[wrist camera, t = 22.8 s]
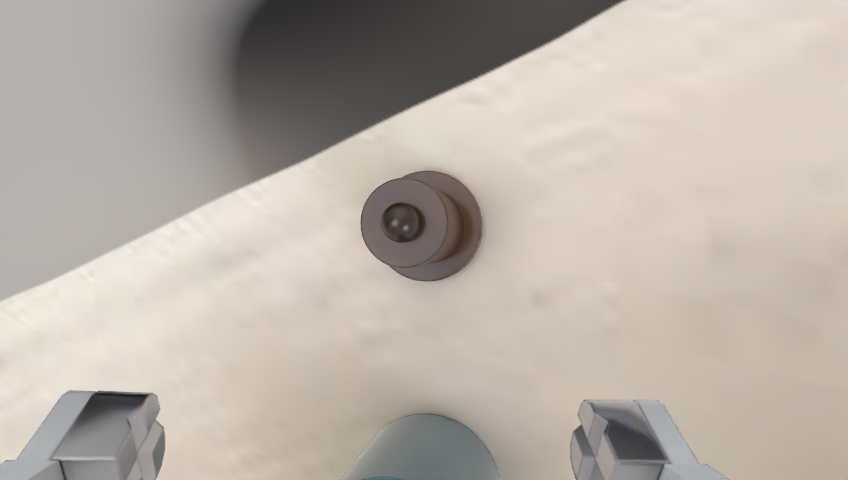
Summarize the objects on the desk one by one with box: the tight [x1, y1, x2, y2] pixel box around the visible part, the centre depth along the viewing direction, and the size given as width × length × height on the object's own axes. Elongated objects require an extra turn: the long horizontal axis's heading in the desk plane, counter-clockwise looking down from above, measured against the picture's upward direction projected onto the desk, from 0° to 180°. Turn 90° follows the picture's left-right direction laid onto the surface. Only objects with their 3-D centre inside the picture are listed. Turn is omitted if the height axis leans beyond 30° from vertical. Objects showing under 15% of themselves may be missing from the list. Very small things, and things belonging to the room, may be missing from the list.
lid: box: [361, 171, 482, 281], centre depth 32 cm, size 7×7×9 cm
